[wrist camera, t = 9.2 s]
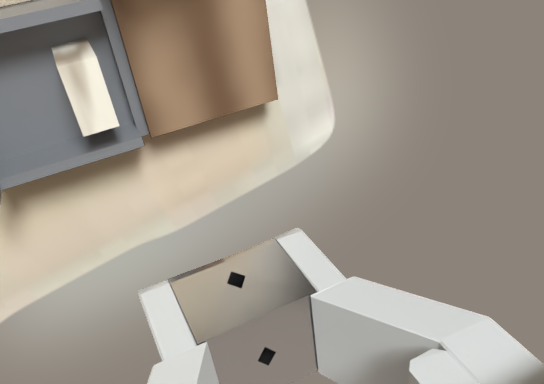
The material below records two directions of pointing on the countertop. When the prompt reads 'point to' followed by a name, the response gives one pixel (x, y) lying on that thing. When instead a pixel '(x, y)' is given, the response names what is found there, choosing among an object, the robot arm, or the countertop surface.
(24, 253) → the countertop surface
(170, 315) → the robot arm
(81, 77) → the tile
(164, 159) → the countertop surface
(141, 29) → the bench plate
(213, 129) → the countertop surface
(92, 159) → the box
